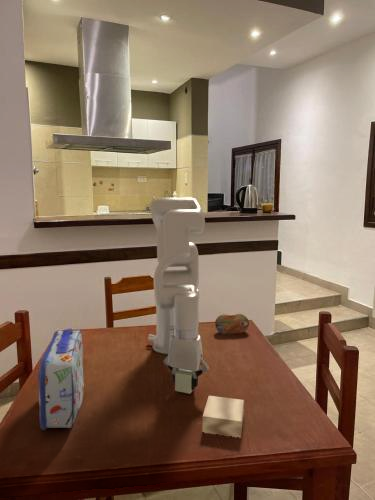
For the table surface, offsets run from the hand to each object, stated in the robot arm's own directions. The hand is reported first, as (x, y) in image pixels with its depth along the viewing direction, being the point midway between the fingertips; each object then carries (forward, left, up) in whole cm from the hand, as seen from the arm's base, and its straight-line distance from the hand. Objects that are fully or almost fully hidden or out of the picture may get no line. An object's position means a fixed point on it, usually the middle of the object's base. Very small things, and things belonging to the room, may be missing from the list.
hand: (185, 385), depth 117 cm
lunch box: (-30, -21, -2) cm, 36 cm away
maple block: (+15, -12, -2) cm, 19 cm away
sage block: (0, 0, -1) cm, 1 cm away
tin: (+2, +53, -2) cm, 54 cm away
